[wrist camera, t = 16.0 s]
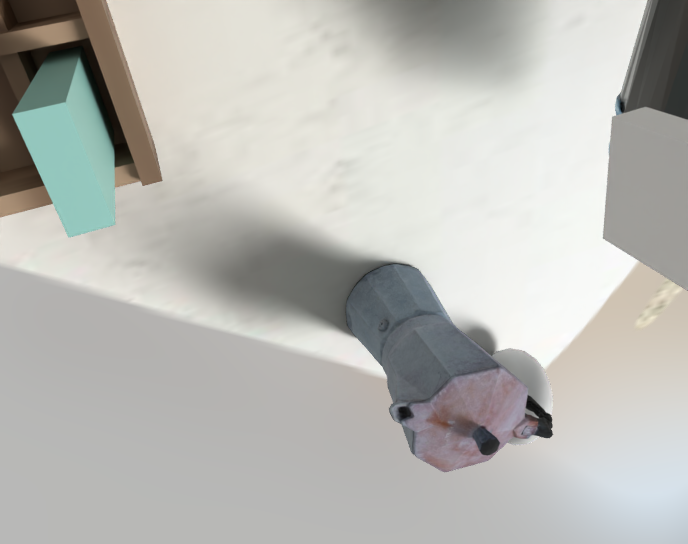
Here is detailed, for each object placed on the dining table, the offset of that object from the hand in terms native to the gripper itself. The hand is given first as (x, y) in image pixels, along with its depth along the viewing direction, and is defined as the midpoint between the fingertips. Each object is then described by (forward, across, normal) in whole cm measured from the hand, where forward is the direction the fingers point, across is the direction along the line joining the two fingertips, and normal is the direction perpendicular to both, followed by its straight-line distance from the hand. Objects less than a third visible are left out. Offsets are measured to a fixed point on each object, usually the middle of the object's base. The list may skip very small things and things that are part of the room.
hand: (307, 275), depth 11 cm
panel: (+32, +7, +2) cm, 33 cm away
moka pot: (+35, -12, +27) cm, 45 cm away
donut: (+35, -22, +40) cm, 58 cm away
